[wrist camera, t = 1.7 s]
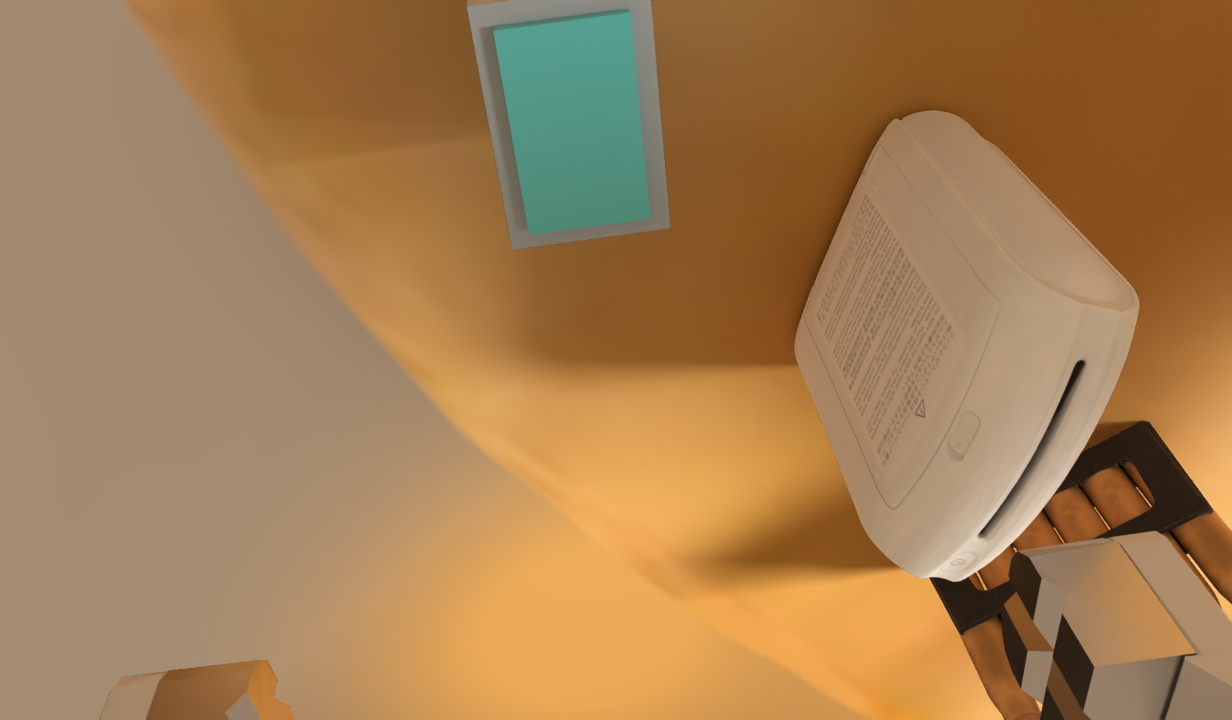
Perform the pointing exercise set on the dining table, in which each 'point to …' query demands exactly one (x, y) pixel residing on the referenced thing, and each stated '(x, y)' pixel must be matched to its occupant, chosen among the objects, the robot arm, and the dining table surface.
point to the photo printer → (958, 346)
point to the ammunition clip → (1110, 488)
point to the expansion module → (573, 116)
